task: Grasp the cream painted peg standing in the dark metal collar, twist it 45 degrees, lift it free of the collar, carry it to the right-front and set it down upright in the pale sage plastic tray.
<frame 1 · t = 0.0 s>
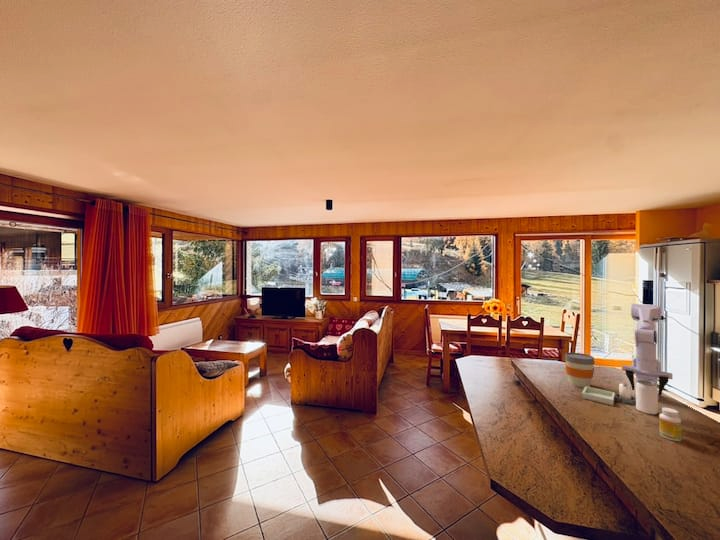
hand: (646, 392, 117), 10 cm above the table, fingers open, 7 cm apart
reusable coffee cup: (579, 384, 151), on the table
peg: (625, 392, 132), in the collar
can: (646, 411, 122), on the table
supplement bottle: (670, 437, 103), on the table
tray: (598, 397, 135), on the table
collar: (625, 400, 132), on the table
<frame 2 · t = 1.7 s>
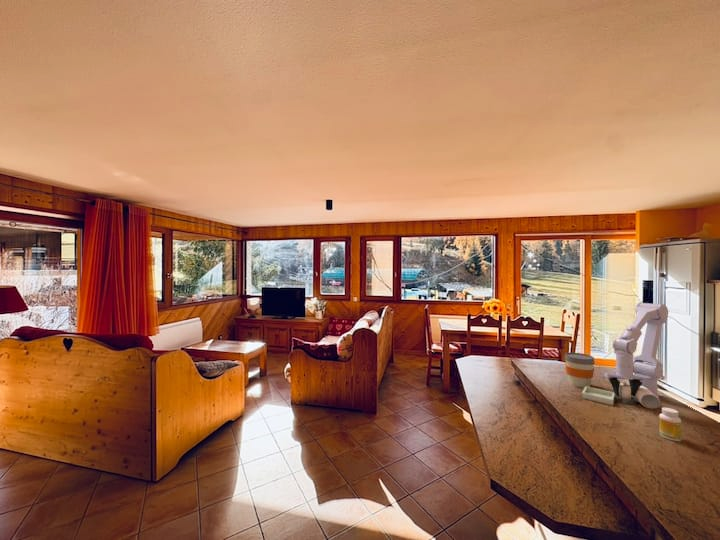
hand: (624, 394, 132), 3 cm above the table, fingers open, 6 cm apart
can: (650, 401, 124), point 3 cm above the table, touching collar, gripper
everything else where it was.
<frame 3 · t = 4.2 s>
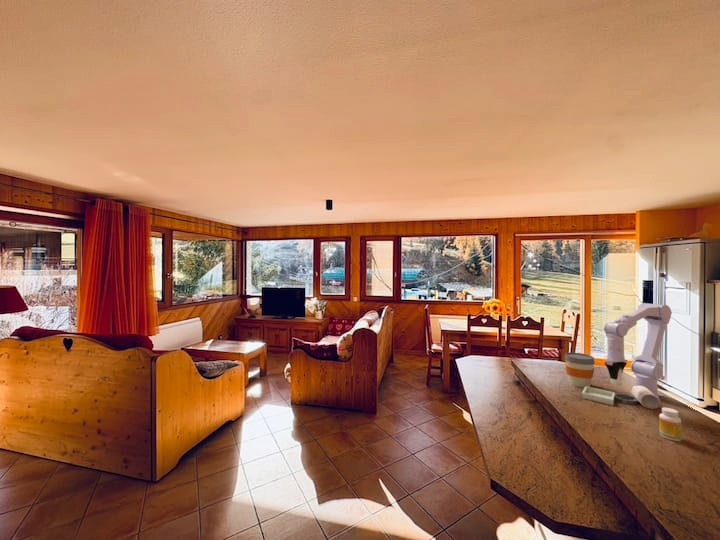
hand: (615, 378, 133), 10 cm above the table, fingers closed on peg, 4 cm apart
peg: (616, 375, 133), point 11 cm above the table, touching gripper
can: (650, 401, 124), point 3 cm above the table, touching collar
everything else where it was.
when the fingers open (4 cm above the table, at t = 6.0 s): peg drops 1 cm, resting on tray.
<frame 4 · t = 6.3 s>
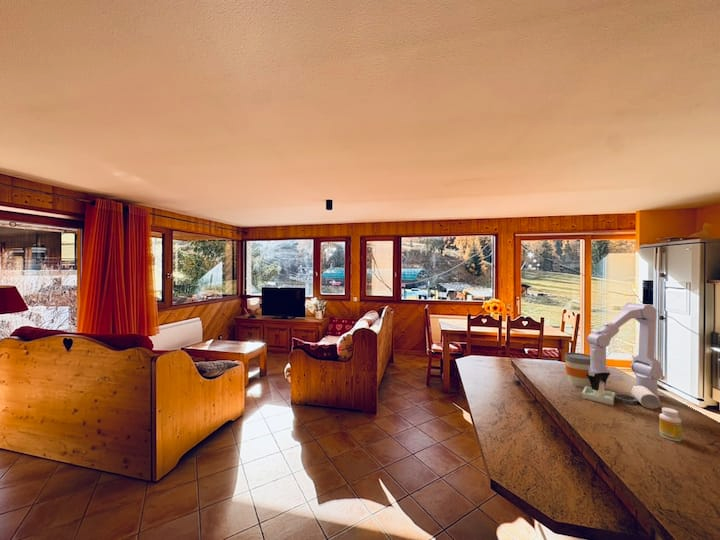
hand: (598, 388, 135), 5 cm above the table, fingers open, 6 cm apart
peg: (598, 388, 135), in the tray, point 4 cm above the table
everything else where it was.
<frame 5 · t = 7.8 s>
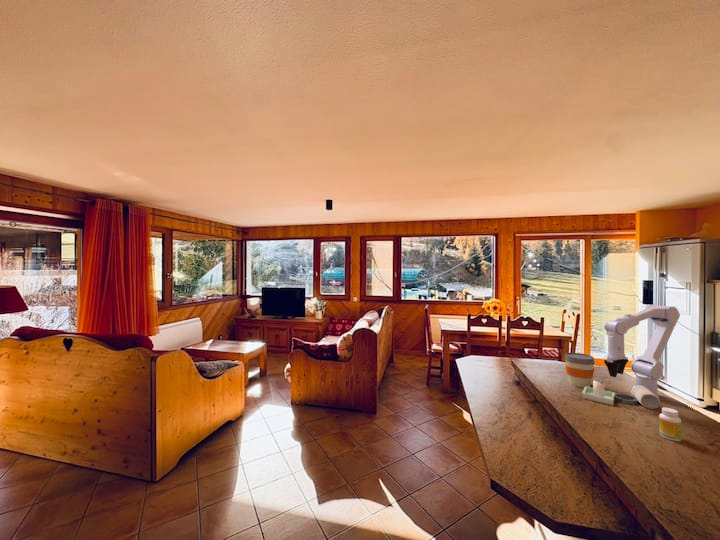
hand: (616, 375, 136), 10 cm above the table, fingers open, 7 cm apart
nothing on the table moved.
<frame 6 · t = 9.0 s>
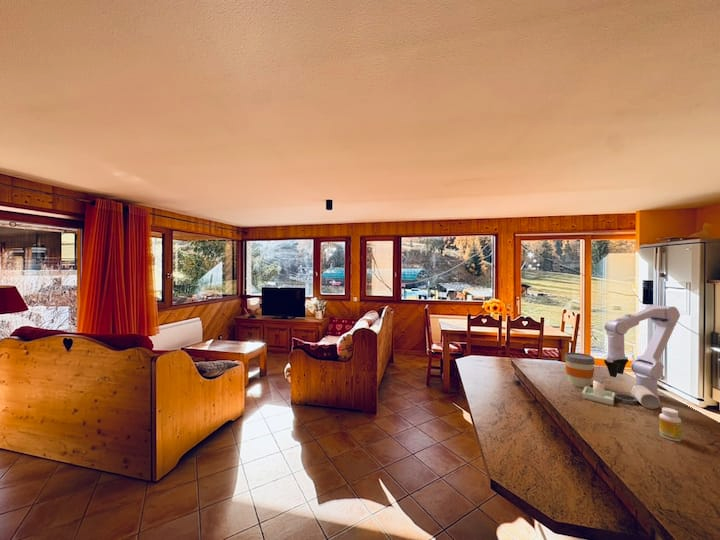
hand: (616, 375, 136), 10 cm above the table, fingers open, 7 cm apart
nothing on the table moved.
at the end: peg inside the target area on the tray (0.3 cm from its centre), point 4.5 cm above the tray's base; peg tilted 0°; the gripper is holding nothing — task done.
